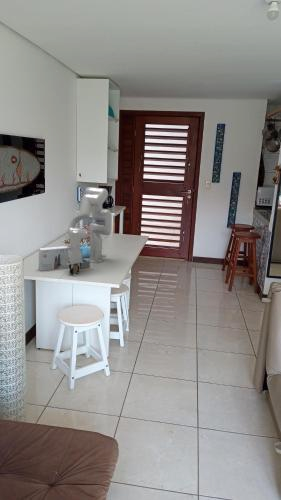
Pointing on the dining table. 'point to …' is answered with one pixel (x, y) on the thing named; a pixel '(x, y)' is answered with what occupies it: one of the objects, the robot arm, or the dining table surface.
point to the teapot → (85, 251)
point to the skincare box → (52, 258)
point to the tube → (85, 265)
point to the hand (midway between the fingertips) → (74, 272)
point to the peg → (75, 268)
